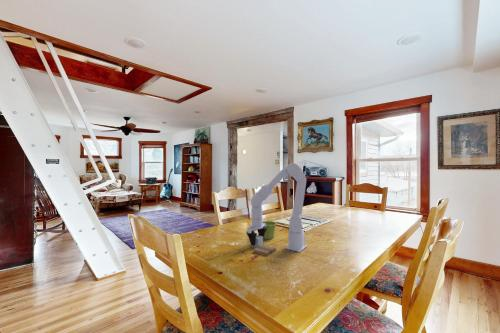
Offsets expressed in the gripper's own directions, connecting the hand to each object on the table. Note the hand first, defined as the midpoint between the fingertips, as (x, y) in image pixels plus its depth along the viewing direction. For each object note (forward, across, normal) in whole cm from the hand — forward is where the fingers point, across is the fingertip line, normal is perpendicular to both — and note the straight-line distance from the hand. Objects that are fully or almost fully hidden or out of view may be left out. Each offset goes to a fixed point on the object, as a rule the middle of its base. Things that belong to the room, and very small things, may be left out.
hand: (256, 243), depth 122 cm
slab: (+2, +4, +8) cm, 9 cm away
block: (+2, 0, 0) cm, 2 cm away
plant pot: (+2, -15, -2) cm, 15 cm away
